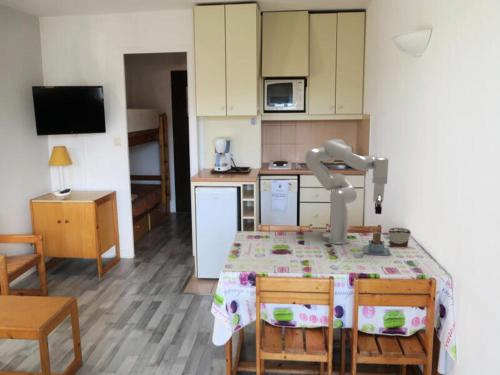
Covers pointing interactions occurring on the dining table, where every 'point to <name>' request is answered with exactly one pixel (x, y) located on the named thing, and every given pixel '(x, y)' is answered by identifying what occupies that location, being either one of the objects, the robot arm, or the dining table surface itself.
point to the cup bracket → (376, 249)
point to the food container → (399, 237)
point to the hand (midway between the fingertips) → (378, 211)
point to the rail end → (376, 237)
